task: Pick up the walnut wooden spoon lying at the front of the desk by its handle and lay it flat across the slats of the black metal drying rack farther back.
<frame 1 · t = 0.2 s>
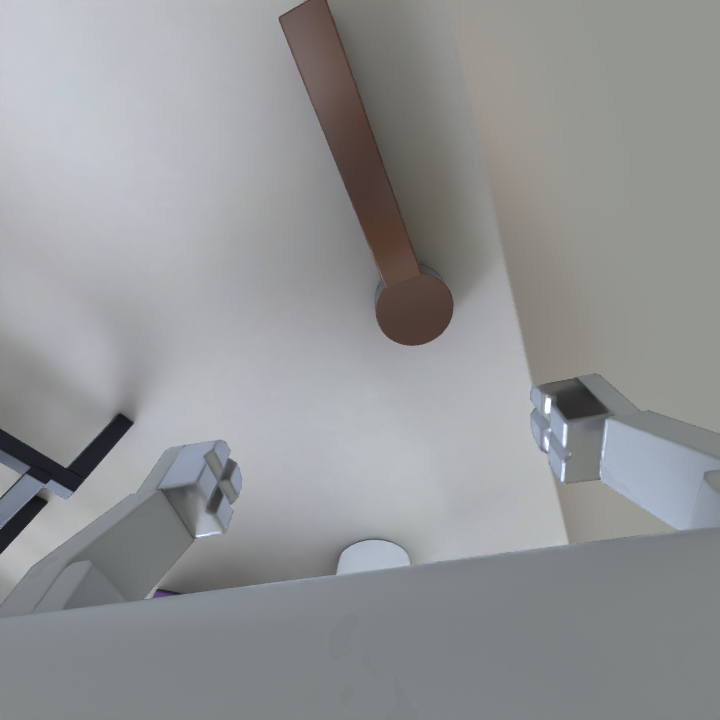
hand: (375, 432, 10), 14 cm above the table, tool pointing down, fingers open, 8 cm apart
cup: (374, 559, 35), on the table
spoon: (374, 202, 20), on the table
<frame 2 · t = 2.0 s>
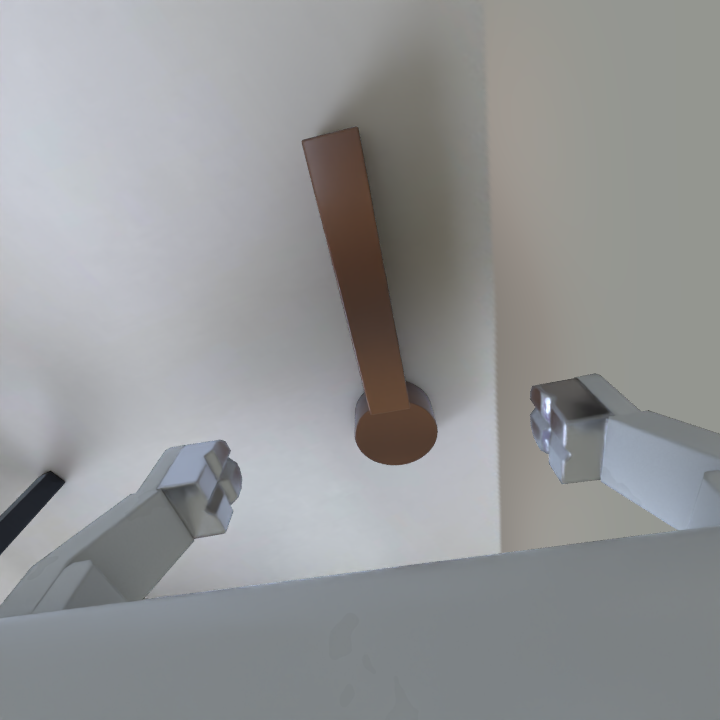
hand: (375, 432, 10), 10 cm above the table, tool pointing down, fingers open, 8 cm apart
spoon: (373, 318, 19), on the table
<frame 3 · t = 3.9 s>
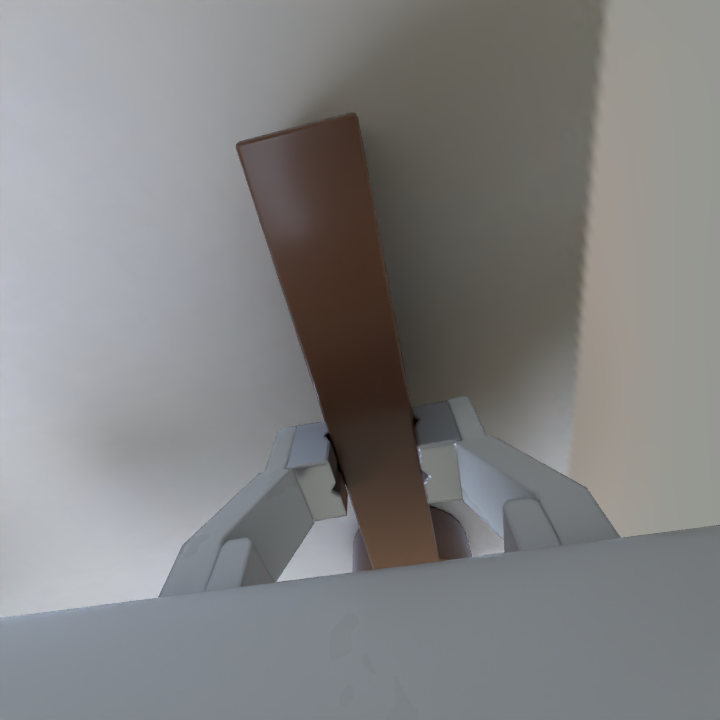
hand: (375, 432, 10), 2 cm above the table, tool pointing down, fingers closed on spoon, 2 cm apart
spoon: (381, 424, 12), on the table, touching gripper
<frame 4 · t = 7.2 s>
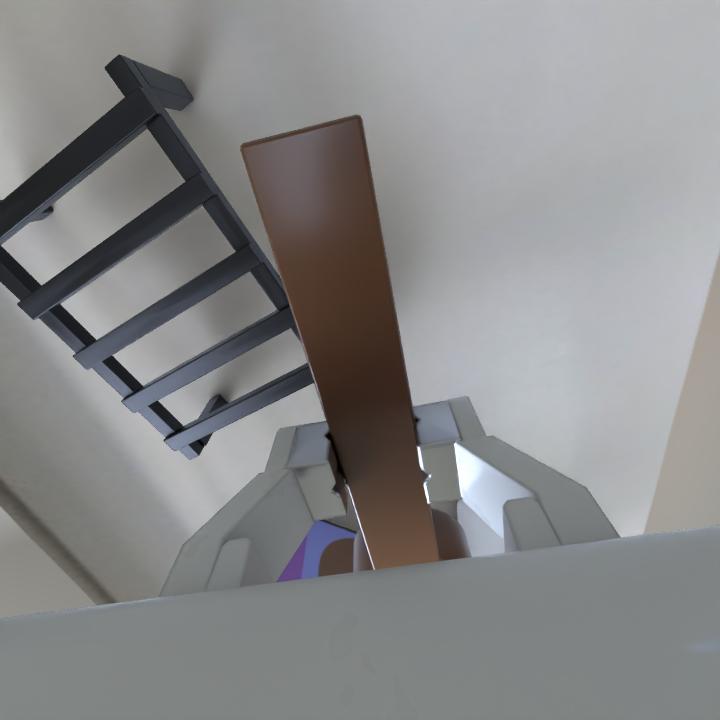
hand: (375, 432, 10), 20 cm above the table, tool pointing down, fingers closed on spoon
cup: (486, 502, 40), on the table
spoon: (382, 425, 12), point 18 cm above the table, touching gripper
rack: (203, 278, 28), on the table
cereal box: (342, 540, 43), on the table
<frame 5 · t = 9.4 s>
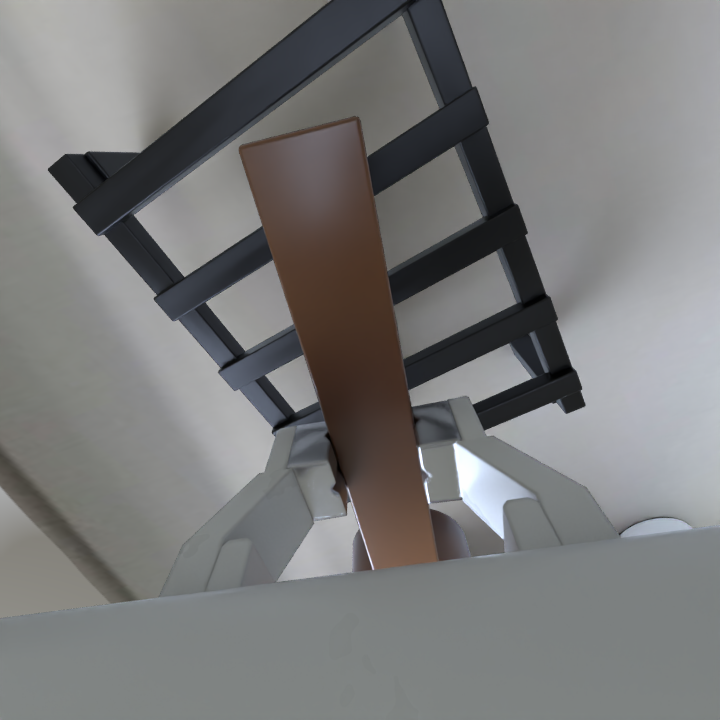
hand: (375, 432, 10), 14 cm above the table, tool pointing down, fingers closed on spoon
cup: (648, 539, 33), on the table
spoon: (381, 425, 12), point 12 cm above the table, touching gripper
rack: (359, 266, 21), on the table
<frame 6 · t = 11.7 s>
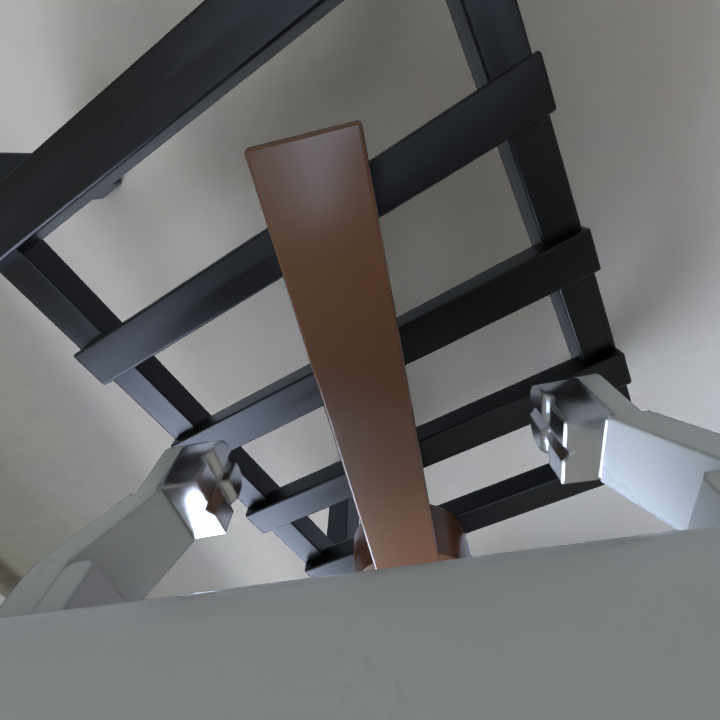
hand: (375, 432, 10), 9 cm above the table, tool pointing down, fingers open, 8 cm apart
spoon: (381, 422, 12), point 7 cm above the table, touching rack
rack: (358, 295, 17), on the table
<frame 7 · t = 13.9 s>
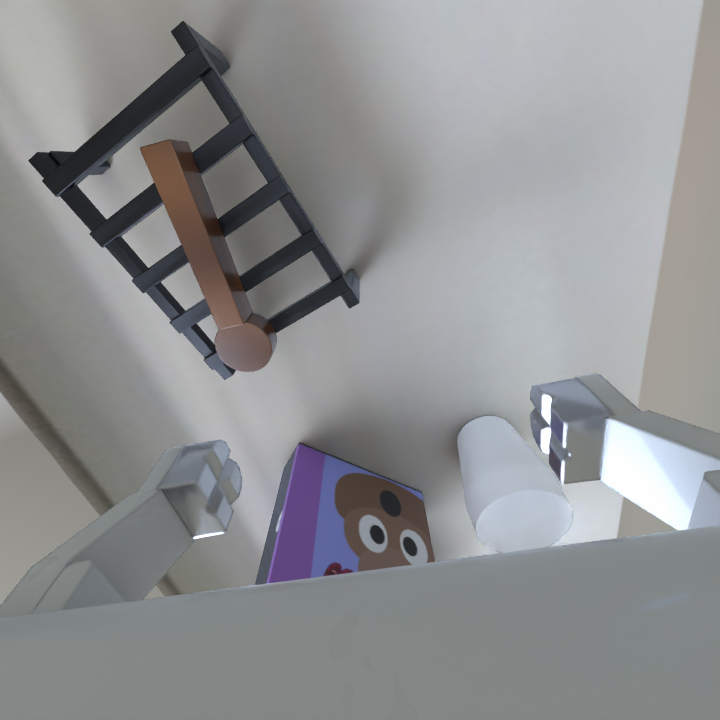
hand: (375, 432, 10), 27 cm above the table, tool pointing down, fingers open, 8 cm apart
cup: (484, 436, 44), on the table
spoon: (221, 265, 28), point 7 cm above the table, touching rack
rack: (234, 224, 33), on the table
cereal box: (354, 479, 48), on the table
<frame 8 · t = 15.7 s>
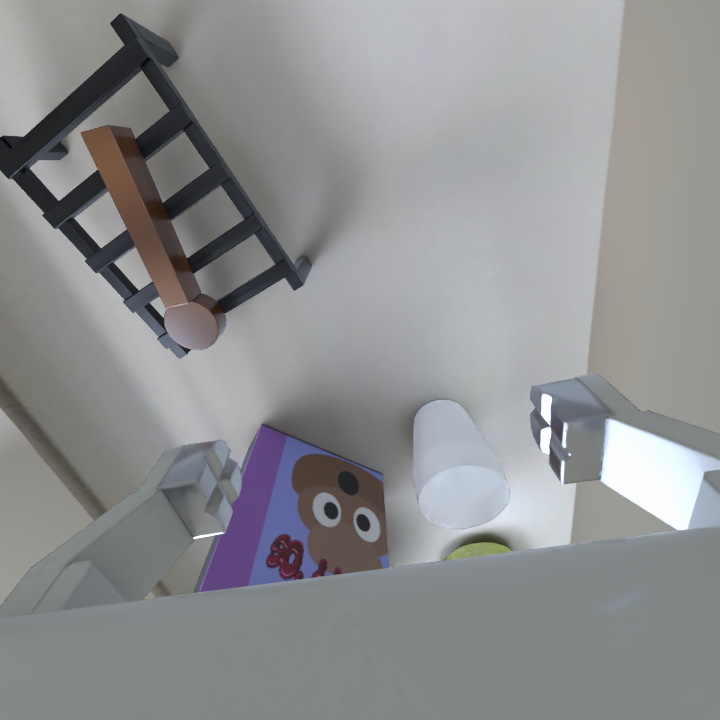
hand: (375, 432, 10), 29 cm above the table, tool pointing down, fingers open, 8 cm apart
mat: (475, 553, 59), on the table
cup: (440, 419, 46), on the table
spoon: (169, 247, 29), point 7 cm above the table, touching rack
rack: (189, 210, 34), on the table
cereal box: (316, 460, 49), on the table
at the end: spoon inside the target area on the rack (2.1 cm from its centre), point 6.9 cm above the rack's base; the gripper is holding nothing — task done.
